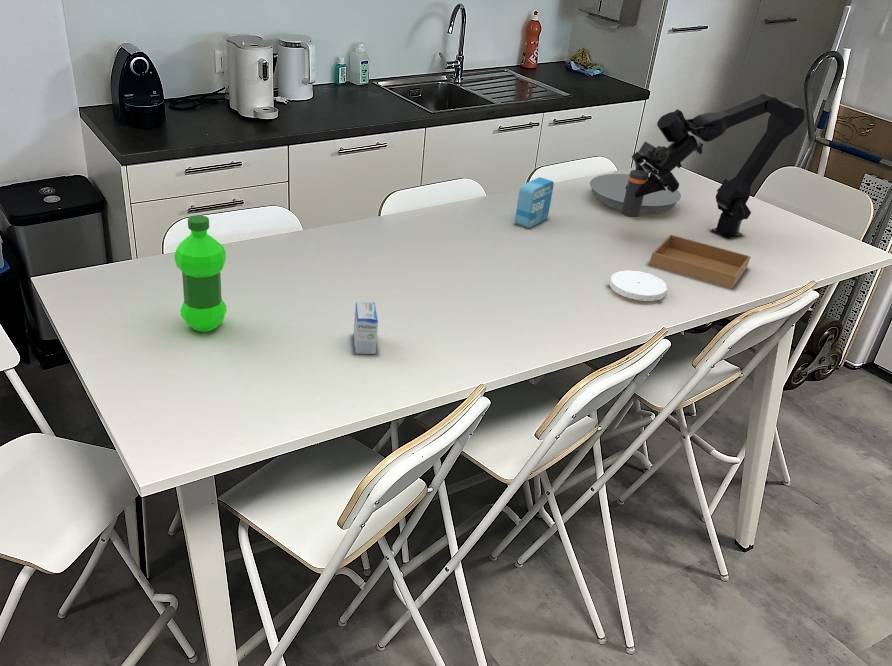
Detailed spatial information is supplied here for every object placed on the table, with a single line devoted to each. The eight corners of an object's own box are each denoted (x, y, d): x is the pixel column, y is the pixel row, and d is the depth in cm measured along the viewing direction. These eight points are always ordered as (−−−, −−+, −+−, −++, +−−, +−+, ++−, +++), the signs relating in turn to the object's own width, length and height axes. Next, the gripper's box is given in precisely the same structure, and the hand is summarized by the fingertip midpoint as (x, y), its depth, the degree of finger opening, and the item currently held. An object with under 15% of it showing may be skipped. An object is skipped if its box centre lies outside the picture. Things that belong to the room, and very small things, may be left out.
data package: (526, 229, 245) (533, 189, 239) (513, 225, 247) (519, 185, 241) (547, 218, 253) (554, 179, 247) (534, 214, 255) (541, 175, 249)
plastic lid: (674, 304, 211) (677, 294, 210) (621, 305, 208) (623, 296, 207) (650, 278, 222) (652, 269, 221) (600, 279, 220) (602, 270, 219)
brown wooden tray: (667, 247, 241) (670, 234, 239) (746, 269, 231) (750, 256, 229) (649, 265, 229) (652, 252, 227) (731, 289, 220) (735, 276, 218)
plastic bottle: (231, 335, 185) (227, 227, 171) (182, 339, 182) (174, 230, 168) (225, 313, 193) (221, 208, 179) (177, 317, 190) (169, 211, 176)
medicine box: (353, 335, 188) (354, 300, 183) (373, 336, 188) (375, 301, 184) (355, 354, 181) (357, 318, 177) (376, 354, 182) (378, 319, 177)
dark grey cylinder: (639, 212, 243) (648, 171, 236) (639, 218, 238) (649, 177, 232) (620, 209, 243) (629, 168, 237) (620, 216, 239) (630, 174, 233)
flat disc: (575, 186, 279) (578, 172, 277) (657, 187, 282) (660, 174, 280) (603, 219, 256) (606, 205, 253) (691, 220, 259) (695, 206, 257)
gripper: (645, 122, 237) (601, 162, 240) (679, 143, 222) (632, 185, 225) (664, 150, 243) (620, 188, 246) (698, 172, 228) (652, 212, 231)
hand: (630, 192), depth 237 cm, fingers closed on dark grey cylinder, 5 cm apart
